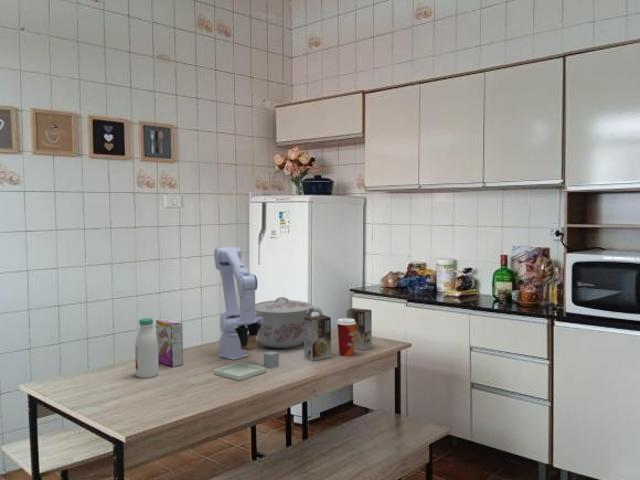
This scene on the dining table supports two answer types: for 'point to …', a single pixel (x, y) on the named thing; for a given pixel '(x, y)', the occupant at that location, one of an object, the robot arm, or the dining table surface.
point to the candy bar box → (169, 342)
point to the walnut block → (250, 343)
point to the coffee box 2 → (361, 328)
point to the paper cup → (346, 336)
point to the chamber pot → (283, 322)
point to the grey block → (271, 359)
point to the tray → (239, 371)
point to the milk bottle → (146, 350)
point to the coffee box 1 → (317, 337)
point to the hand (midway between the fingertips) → (248, 344)
